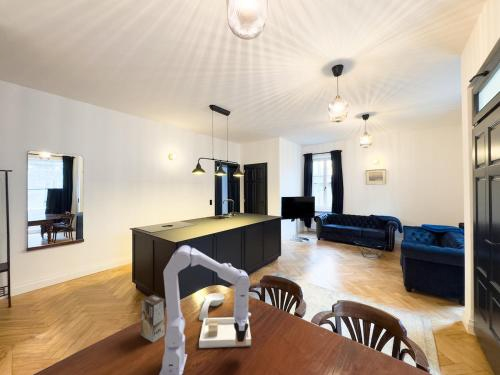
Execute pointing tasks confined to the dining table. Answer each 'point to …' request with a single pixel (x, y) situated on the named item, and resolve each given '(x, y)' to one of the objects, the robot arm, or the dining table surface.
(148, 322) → the coffee box
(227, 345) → the tray
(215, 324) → the maple block
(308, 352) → the dining table surface
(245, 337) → the terracotta block
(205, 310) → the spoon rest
